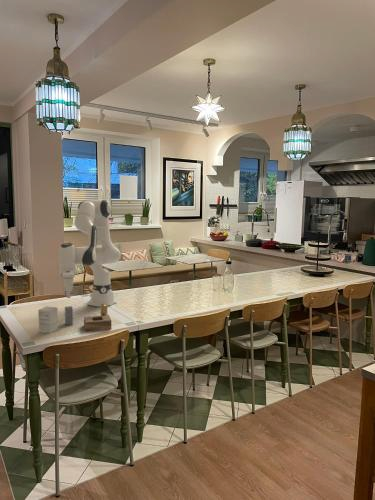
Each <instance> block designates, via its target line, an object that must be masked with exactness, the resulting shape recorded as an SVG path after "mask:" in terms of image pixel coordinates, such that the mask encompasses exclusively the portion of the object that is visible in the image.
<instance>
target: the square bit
mask: <svg viewBox="0 0 375 500" xmlns="http://www.w3.org/2000/svg"><path fill="white" fill-rule="evenodd" d="M73 320H74V318H73V306H65V307H64V325H65V326H67V327H68V326H73V325H74V323H73V322H74V321H73Z"/></svg>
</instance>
